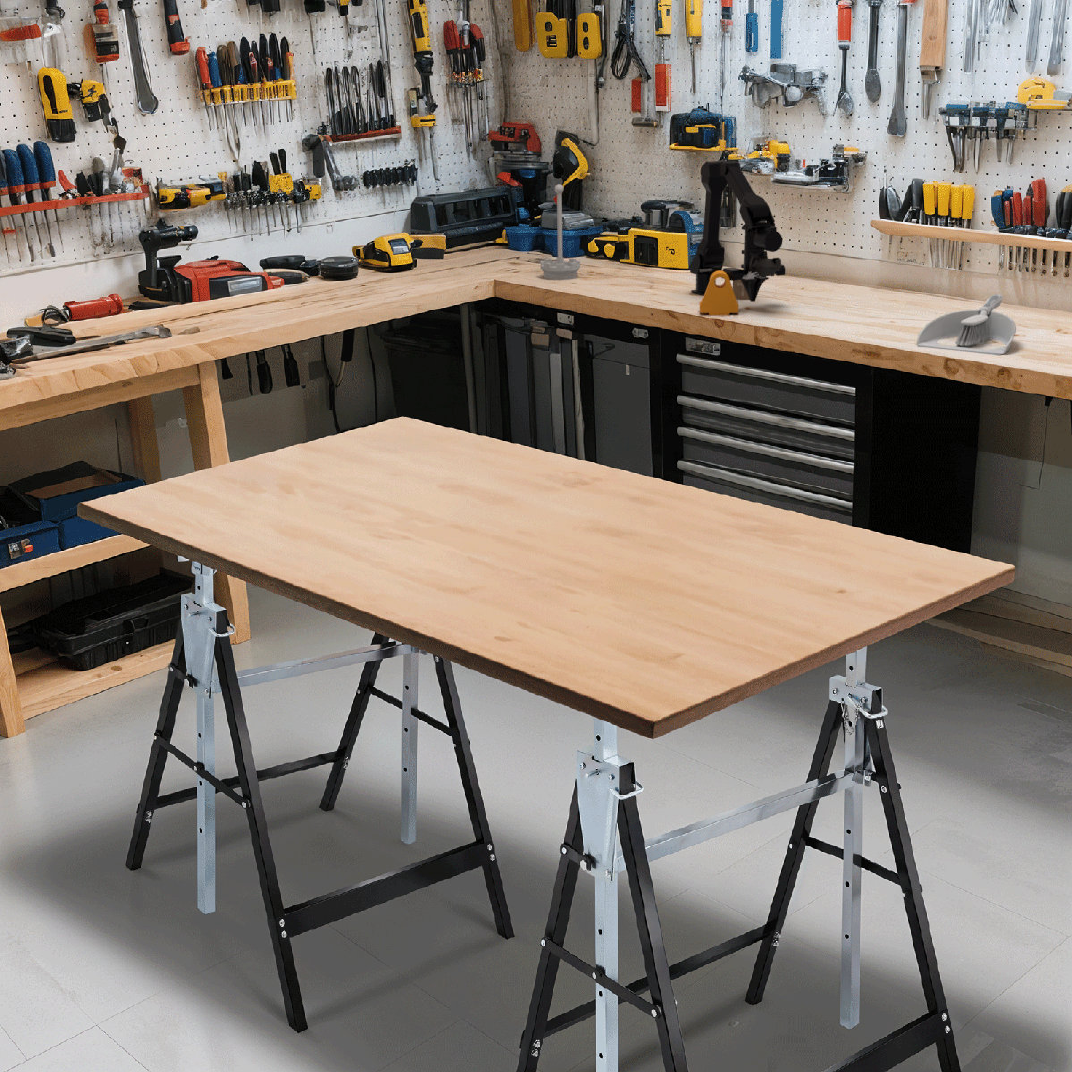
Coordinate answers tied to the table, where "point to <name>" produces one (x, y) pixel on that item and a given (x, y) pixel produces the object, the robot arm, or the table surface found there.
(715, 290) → the bracket
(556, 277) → the flag stand
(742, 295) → the letter block
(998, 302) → the dustpan and brush
